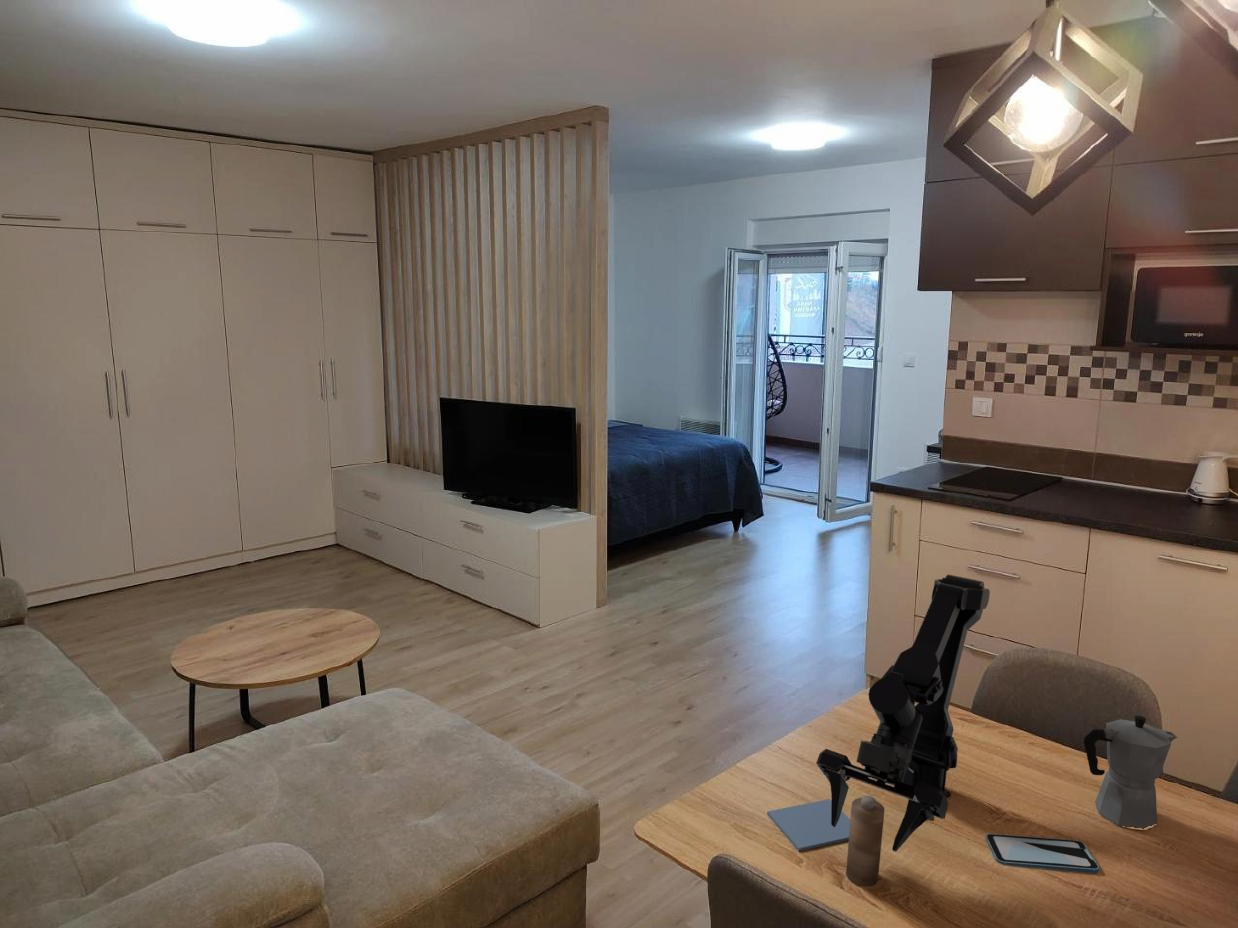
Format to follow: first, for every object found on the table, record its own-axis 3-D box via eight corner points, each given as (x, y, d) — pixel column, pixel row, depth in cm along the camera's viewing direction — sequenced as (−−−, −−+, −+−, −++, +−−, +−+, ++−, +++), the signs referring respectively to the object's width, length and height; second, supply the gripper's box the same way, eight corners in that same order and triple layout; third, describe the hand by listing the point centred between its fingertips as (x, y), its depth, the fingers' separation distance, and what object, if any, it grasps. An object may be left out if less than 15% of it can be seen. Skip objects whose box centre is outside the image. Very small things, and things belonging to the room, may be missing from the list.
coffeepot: (1145, 798, 148) (1160, 702, 145) (1182, 831, 139) (1199, 730, 135) (1059, 798, 148) (1072, 702, 144) (1090, 832, 138) (1105, 730, 135)
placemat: (829, 801, 145) (829, 798, 145) (864, 836, 136) (864, 833, 136) (767, 813, 141) (767, 811, 141) (798, 850, 132) (798, 848, 132)
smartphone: (983, 832, 137) (1082, 839, 135) (983, 837, 137) (1081, 845, 135) (997, 861, 130) (1101, 870, 128) (997, 867, 130) (1101, 875, 128)
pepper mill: (865, 863, 129) (872, 788, 127) (884, 883, 125) (891, 805, 123) (839, 869, 128) (846, 793, 125) (857, 889, 124) (864, 811, 121)
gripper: (825, 699, 131) (789, 797, 124) (950, 739, 120) (918, 847, 113) (841, 727, 138) (808, 820, 132) (960, 766, 128) (930, 869, 121)
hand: (862, 837), depth 124 cm, fingers open, 9 cm apart
